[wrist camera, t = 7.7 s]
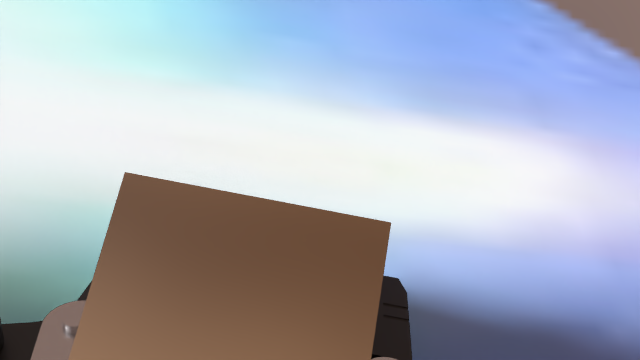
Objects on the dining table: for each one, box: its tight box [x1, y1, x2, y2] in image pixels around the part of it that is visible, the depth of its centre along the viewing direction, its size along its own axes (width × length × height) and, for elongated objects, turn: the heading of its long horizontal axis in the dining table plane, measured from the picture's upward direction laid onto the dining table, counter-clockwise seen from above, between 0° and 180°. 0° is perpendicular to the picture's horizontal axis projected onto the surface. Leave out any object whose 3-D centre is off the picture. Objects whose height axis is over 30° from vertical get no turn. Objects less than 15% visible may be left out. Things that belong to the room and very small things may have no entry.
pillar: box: [68, 172, 391, 360], centre depth 13 cm, size 4×4×10 cm
